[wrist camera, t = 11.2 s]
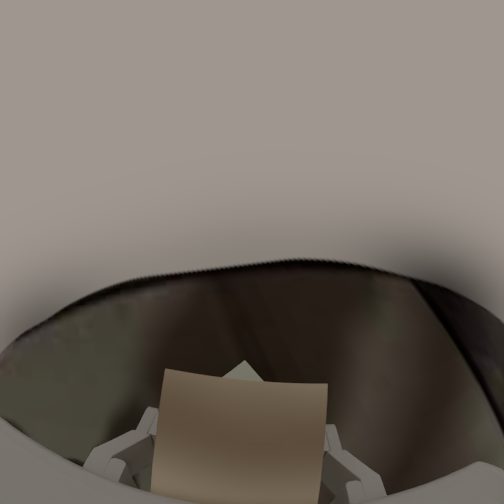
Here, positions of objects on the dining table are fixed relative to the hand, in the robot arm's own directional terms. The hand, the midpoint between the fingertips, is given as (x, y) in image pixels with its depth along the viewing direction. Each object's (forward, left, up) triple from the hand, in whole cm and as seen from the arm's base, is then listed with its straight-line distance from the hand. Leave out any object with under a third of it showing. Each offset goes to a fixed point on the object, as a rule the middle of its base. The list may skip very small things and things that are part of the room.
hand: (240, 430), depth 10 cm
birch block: (0, 0, -5) cm, 5 cm away
